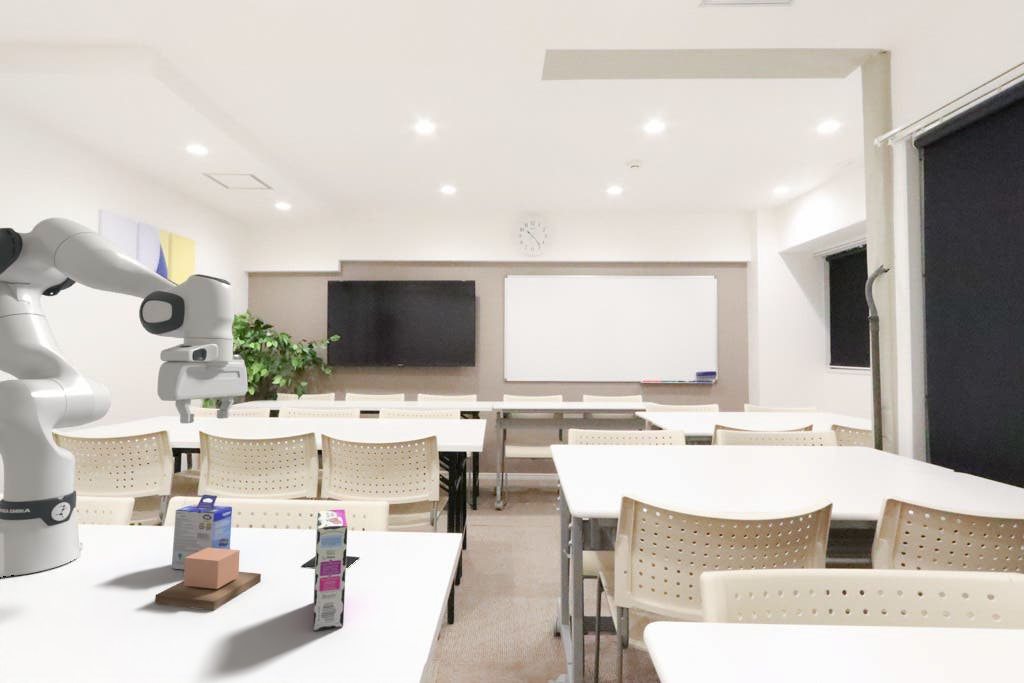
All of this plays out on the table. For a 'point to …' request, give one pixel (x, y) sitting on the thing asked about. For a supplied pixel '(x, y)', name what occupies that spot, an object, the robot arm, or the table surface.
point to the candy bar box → (330, 570)
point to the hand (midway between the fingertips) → (205, 420)
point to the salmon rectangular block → (211, 568)
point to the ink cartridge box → (200, 529)
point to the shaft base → (207, 593)
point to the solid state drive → (349, 561)
